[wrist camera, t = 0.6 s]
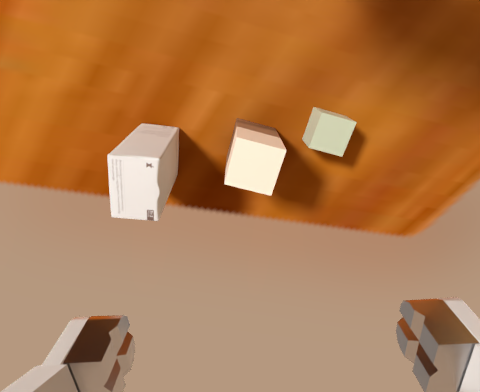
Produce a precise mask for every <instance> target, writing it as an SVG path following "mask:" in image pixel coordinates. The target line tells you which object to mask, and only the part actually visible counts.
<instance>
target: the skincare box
mask: <svg viewBox="0 0 480 392" xmlns="http://www.w3.org/2000/svg"><path fill="white" fill-rule="evenodd" d="M178 158H179V128H178V127H170V126H161V125H153V124H144V123H142V124H140V125H139V126H138V127H137V128H136V129H135V130H134V131H133V132H132V133H131V134H130V135H129V136H128V137H127V138H126V139H124V140H123V141H122V142H121V143H120V144H119V145H118V146H117V147H116V148H115V149H114V150H113V151H112V152H111V153H110V154H108V174H109V191H110V205H111V216H112V217H116V218H127V219H140V220H153V221H159V219H160V216H161V214H162V212H163V209H164V207H165V204H166V202H167V199H168V197H169V194H170V192H171V189H172V187H173V184H174V182H175V180H176V177H177V174H178Z"/></svg>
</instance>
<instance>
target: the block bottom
mask: <svg viewBox="0 0 480 392" xmlns="http://www.w3.org/2000/svg"><path fill="white" fill-rule="evenodd" d="M237 127H241V128H245V129H249V130H252V131H256V132H260V133H264V134H267V135H271V136H275V137H278V138H280V137H279V135H278V133H277V131H276V129H275V128H272V127H268V126H264V125H261V124H257V123H253V122H250V121H246V120H242V119H239V118H237V120H236V123H235V127H234V131H233V135H232V139H231V143H230V146H229V150H228V154H227V161H226V166H227V162H228V158H229V154H230V151H231V147H232V143H233V139H234V135H235V132H236V128H237Z"/></svg>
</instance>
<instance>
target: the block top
mask: <svg viewBox="0 0 480 392" xmlns="http://www.w3.org/2000/svg"><path fill="white" fill-rule="evenodd" d="M286 151H287V150H286V148H285V146H284V144H283V142H282V140H281V138H278V137H275V136H271V135H267V134H264V133H260V132H256V131H252V130H249V129H245V128H241V127H237V128H236V132H235V135H234V139H233V143H232V147H231V151H230V154H229V158H228V162H227V166H226V171H225V181H224V184H225V185H229V186H233V187H237V188H242V189H246V190H250V191H254V192H258V193H262V194H266V195H270V196H271V195H272V192H273V189H274V186H275V183H276V180H277V177H278V174H279V171H280V168H281V165H282V162H283V159H284V157H285V154H286Z"/></svg>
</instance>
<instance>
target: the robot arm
mask: <svg viewBox="0 0 480 392" xmlns="http://www.w3.org/2000/svg"><path fill="white" fill-rule="evenodd" d="M400 312H401V314H402V316H403V318H402V319H401V320H400V321H398V323H397V329H396V333H397V340H398V343H399V346H400V349H401V351H402V353H403V354H404V356H405V357H406V358H407V359H409V360H410V361H411V362H413V363H414V366H413V373H414V374H415V376H416V378H417V380H418V381H419V383H420V385H421V387H422V389H423V390H424V392H480V319H479V318H478V317H477V316H476V315H475V314H474V313H473V311H472V310H471V309H470V308H469V307H468V306H467V305H466V304H465V303H464V302H463V301H462V300H461V299H459V298H457V297H453V298H439V299H423V300H406V301H403V302H402V304H401V307H400ZM129 326H130V324H129V321H128V318H127V316H124V315H121V316H91V317H75V318H73V319H72V320H71V321H70V322H69V323H68V325H67V326H66V328H65V329H64V331H63V333H62V334H61V336H60V337H59V339H58V340H57V342H56V344H55V345H54V347H53V348H52V350H51V351H50V353H49V355H48V356H47V358H46V359H45V361H44V362H43V364H42V366H35V367H34V368H33V369H31V370H30V371H28V372H27V373H26V374H24V375H23V376H22V377H20V378H19V379H18V380H16V381H15V382H13V383H12V384H11V385H9V386H8V387H7V388H5V389H4V390H3V391H1V392H123V391H124V388H125V381H124V378H123V377H124V376H125V375H126V374H127V373H128V372H129V371H130V370H131V367H132V364H133V361H134V353H135V343H134V339H133V336H132V335H131V334H130V333H129V332H127V331H128V328H129Z"/></svg>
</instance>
